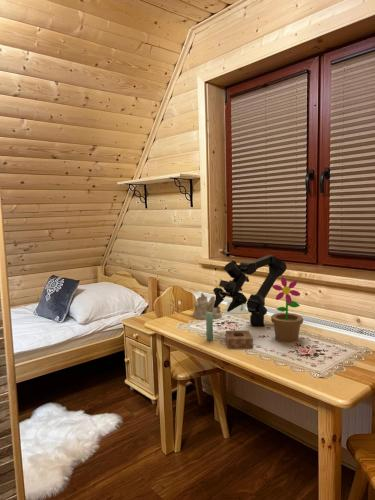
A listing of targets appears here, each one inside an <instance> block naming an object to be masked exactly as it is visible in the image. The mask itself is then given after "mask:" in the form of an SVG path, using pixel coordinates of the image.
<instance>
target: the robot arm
mask: <svg viewBox="0 0 375 500" xmlns="http://www.w3.org/2000/svg"><path fill="white" fill-rule="evenodd" d="M266 266H268V274H267V276H266V278H264V281H263V283H262V284H261V286H260V287H259V289H258V291H257V292H256V293H255V294H254V293H253V294H252V293H251V294H250V296H249V297H248V298H247V296H246V295H245V294H244V293H243V292H242V291H243V288H242V287H243V285H244V284H245V283H246V282H247V283H249V282H250V278H249V276H247V275H253V274H255V273H256V271H257V270H258V269H260V268H263V267H266ZM223 269H224V271H225V273H227V275H228V276H229V277H230V278H232V280H229V281H228V280H223V279H220V281H219V284H218V286H216V287H214V288H213V290H212V292H213V293H214V295H215V296H214V297H215V303H214V308H216V307H217V306H219V305H220V304H222V302H224V300H225V298H226V297H228V298H232V299H231V301H230V302H231V304H230V306H229V307H228V309H227V308H226V309H227V312H230V311H231V310H233V309H234V308H236V307H238V306H240V305H243V304H246V308H247V311H248V313H250V315H249V324H250V325H251V326H252V327H265V315H267V312H268V309H267V308H266V307H265V305H266V300H265V299H266V298H267V295H268V294H269V292H270V290H271V289H272V288H273V287H272V286H273V285H275V282H276V281H277V279H278V278H279V277H282V275H284V273H285V272H286V270H287V269H288V268H287V263H286V262H285V261H282V260H281V259H280V258H278V257H276V256H275V255H272V254H266V255H265V256H261V257H259V258H256V259H255V260H254V259H253V261H251V260H250V261H241V262H240V263H239V264H238V262H237V261H235V260H231V261H230V262H228V263H226V264H225V265H224V268H223Z"/></svg>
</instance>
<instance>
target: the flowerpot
mask: <svg viewBox="0 0 375 500" xmlns="http://www.w3.org/2000/svg"><path fill="white" fill-rule="evenodd" d="M280 282H281V285H282V286H283V287H282V286H281V285H278V284H273V286H272V287H271V288H272V289H274V290H275V291H279V293H278V294H276V296H275V300H276V301H278V300H281V299H282V298H284V295H285V306H279V307H277V308H276V310H277V311H279V312H278V313H273V314H272V315H271V316H270V322H271V323H272V324H273V328H274V335H275V339H276V340H277V341H279V342H283V343H295V342H297V341H298V340H299V336H300V328H301V325H302V324H303V323H304V318H303V316H302V315H299V314H297V313H291V312H289V307H291V308H299V307H300V304H299V303H298V302H297V301H294V300H292V297H291V296H295V297H299V296H301V293H300V292H299V290H295V289H294V288H295V286H297V284H298V281H297V280H293V281H291V282H290V283H289V284H288V282H287V278H286V277H284V276H281V278H280ZM287 285H288V286H287ZM280 291H281V292H280Z"/></svg>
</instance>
